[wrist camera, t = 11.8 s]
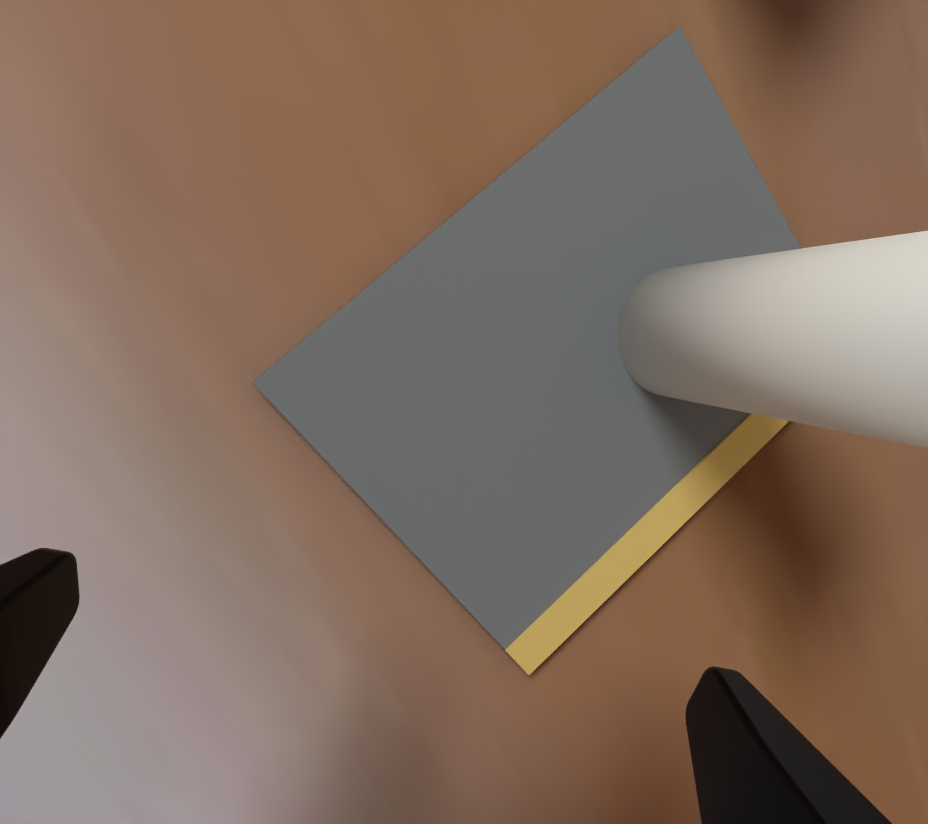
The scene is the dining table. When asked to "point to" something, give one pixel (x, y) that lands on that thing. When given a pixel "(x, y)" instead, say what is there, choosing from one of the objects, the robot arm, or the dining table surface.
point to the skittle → (793, 335)
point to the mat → (543, 361)
